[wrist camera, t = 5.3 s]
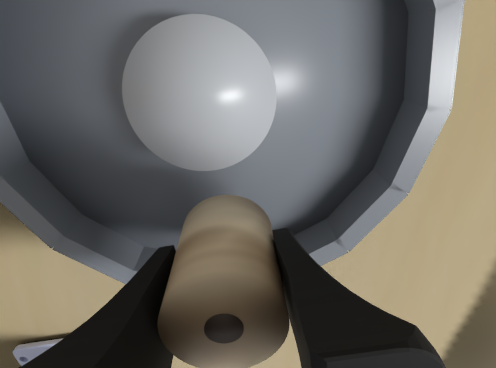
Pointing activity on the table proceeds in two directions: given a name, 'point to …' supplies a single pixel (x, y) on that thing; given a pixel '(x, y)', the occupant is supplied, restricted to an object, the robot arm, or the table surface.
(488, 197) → the table surface
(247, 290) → the birch bead
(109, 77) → the groove tray
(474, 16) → the table surface
